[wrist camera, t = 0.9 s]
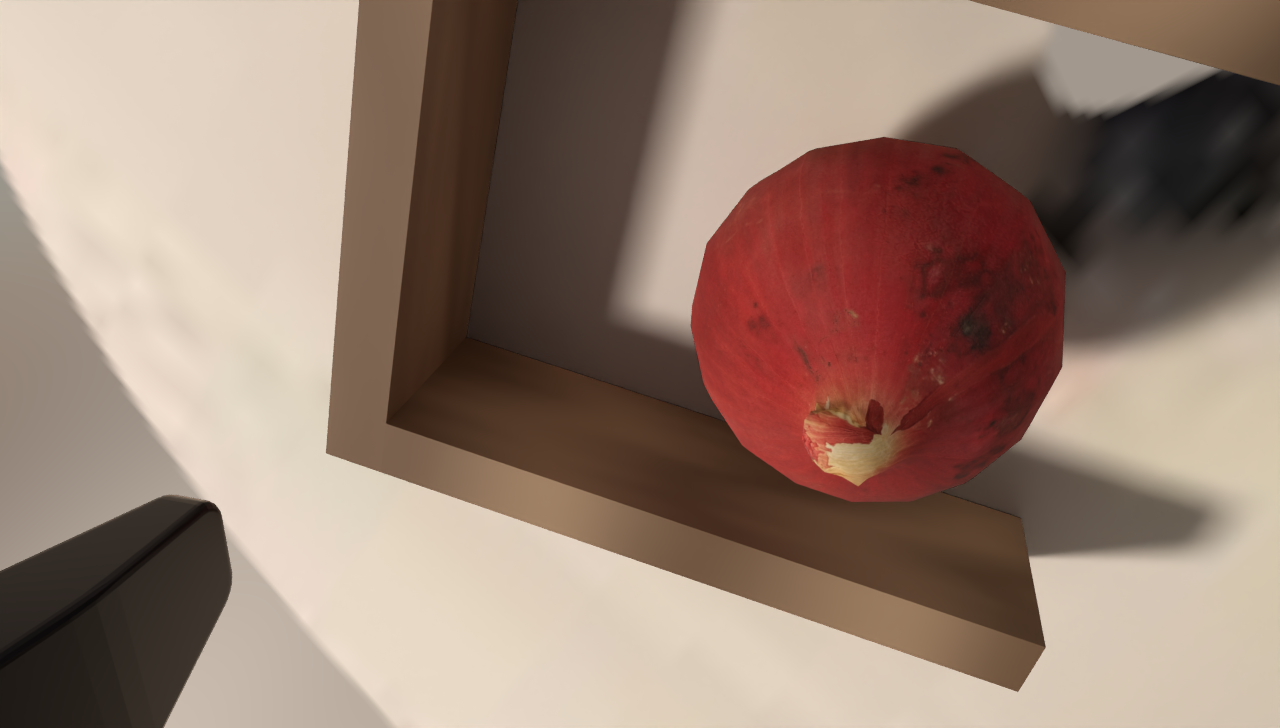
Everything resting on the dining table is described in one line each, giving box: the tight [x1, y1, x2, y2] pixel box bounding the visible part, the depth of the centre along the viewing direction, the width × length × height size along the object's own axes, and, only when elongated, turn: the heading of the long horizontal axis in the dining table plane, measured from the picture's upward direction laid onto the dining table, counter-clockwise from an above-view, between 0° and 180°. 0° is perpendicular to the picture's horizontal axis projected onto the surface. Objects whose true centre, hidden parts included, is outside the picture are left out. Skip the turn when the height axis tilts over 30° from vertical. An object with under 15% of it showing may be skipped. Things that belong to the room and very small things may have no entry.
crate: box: [326, 0, 1280, 692], centre depth 17 cm, size 14×12×4 cm
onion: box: [691, 137, 1066, 502], centre depth 15 cm, size 6×6×8 cm
